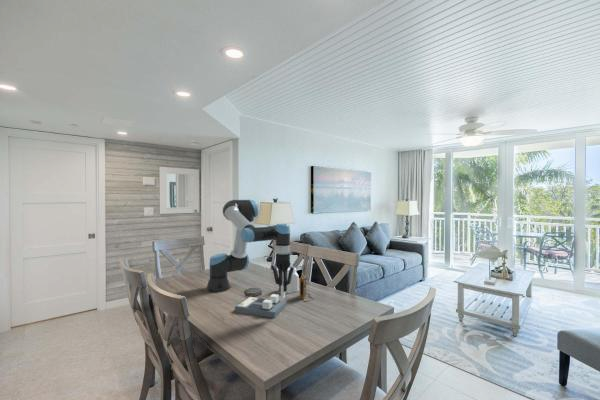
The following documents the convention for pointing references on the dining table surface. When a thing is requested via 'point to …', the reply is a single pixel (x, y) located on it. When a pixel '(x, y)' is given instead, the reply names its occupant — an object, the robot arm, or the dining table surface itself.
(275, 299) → the far slider
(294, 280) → the jar
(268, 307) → the near slider
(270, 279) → the dining table surface
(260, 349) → the dining table surface
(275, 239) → the robot arm
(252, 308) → the switch panel
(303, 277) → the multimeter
